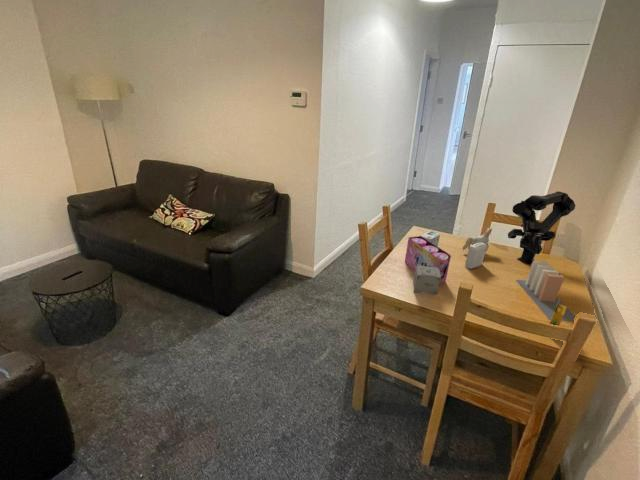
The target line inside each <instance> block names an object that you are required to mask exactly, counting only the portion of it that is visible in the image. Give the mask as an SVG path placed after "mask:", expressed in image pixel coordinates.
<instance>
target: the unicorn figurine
mask: <svg viewBox="0 0 640 480" xmlns="http://www.w3.org/2000/svg"><path fill="white" fill-rule="evenodd" d="M492 230H493V228H491V227H490V226H489V224H487V228H486V231H485V232H484V233H483V234H481V235H479V236H475V235H474V236H470V237H469V236H468V237H467V239H466V241H465V243H464V244H463V246H462V251H464V250H468V251H469V248H470V247H471V246H472V245H474V244H476V243H484V244H486V247H487V248H486V251H485V254H486V252H487V251H488V249H489V248H490V247H489V241H490V240H489V238H490V237H489V236H490V235H491V234H492Z"/></svg>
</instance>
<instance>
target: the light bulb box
mask: <svg viewBox="0 0 640 480" xmlns="http://www.w3.org/2000/svg"><path fill="white" fill-rule="evenodd" d="M419 236H422V237H423V238H425V239H426V240H428V241H429V242H431V243H432V244H434V245H436V246H437V247H438V246H439V241H440V237H441V234H440V233H437V232H435V231H431V230H428V231H426V232H424V233H422V234H419Z"/></svg>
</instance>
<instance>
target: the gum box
mask: <svg viewBox="0 0 640 480" xmlns="http://www.w3.org/2000/svg"><path fill="white" fill-rule="evenodd" d="M406 246H407V247H406V251H405V257H404V262H405V264H407V265H408V266H409V268H412V269H413V270H414V271H416V266H417V265H420V266H427V267H436V268H439V270H440V275H441V281H440V282H439V284H441V283H446V282H447V277H448V271H449V267H450V262H451V258H452V255H451V254H449V253H448V252H446V251H445V250H444V249H442V248H440V247H437V246H436V245H434V244H432V243H431V242H429V241H428V240H426V239H425V238H423V237H422V236H420V235H419V236H411V237H408V239H407V245H406Z"/></svg>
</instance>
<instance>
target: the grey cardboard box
mask: <svg viewBox="0 0 640 480" xmlns="http://www.w3.org/2000/svg"><path fill="white" fill-rule="evenodd" d="M414 271H415V270H414ZM412 280H413V281H412V283H413V284H412V285H413V293H423V292H424V293H426V294H427V293H428V294H432V295H437V294H438V292H439V285H440V283H439V282H440V281H441V275H440V270H439V268H436V267H427V266H420V265H417V266H416V271H415V273H414V276H413V279H412ZM424 293H423V294H424Z"/></svg>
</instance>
